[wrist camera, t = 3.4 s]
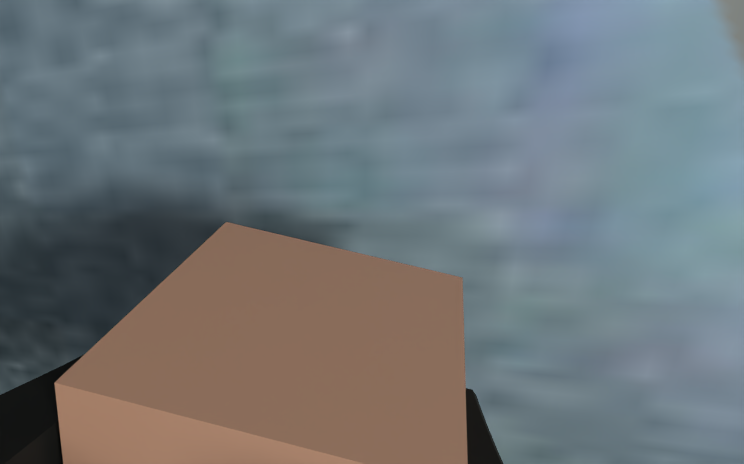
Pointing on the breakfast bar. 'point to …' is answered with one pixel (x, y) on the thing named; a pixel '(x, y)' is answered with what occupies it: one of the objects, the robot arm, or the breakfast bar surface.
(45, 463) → the robot arm
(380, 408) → the terracotta cube
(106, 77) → the breakfast bar surface
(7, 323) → the breakfast bar surface
